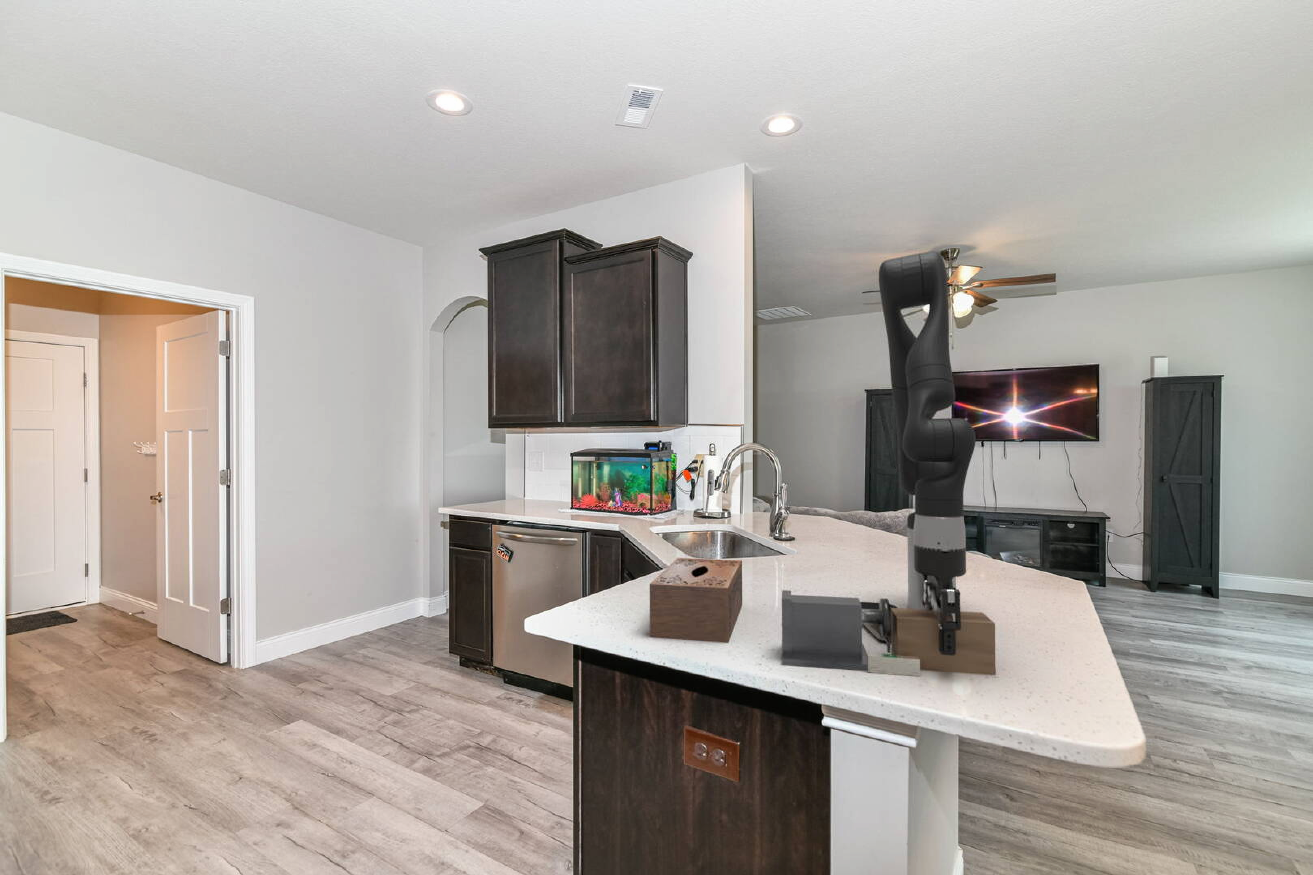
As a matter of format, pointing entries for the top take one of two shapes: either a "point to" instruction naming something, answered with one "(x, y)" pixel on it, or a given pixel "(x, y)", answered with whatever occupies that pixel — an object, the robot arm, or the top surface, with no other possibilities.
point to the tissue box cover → (696, 600)
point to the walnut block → (921, 639)
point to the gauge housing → (833, 637)
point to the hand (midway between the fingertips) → (940, 645)
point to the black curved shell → (875, 628)
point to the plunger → (879, 619)
